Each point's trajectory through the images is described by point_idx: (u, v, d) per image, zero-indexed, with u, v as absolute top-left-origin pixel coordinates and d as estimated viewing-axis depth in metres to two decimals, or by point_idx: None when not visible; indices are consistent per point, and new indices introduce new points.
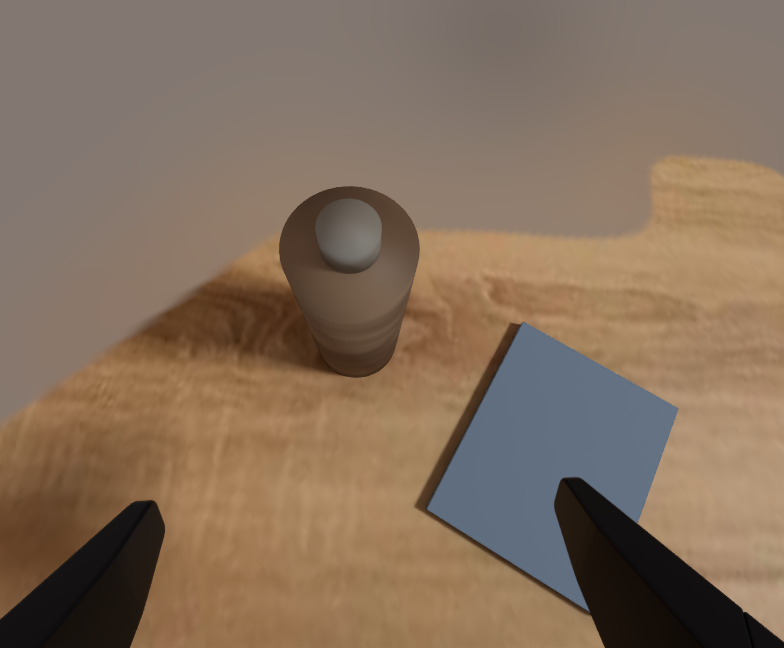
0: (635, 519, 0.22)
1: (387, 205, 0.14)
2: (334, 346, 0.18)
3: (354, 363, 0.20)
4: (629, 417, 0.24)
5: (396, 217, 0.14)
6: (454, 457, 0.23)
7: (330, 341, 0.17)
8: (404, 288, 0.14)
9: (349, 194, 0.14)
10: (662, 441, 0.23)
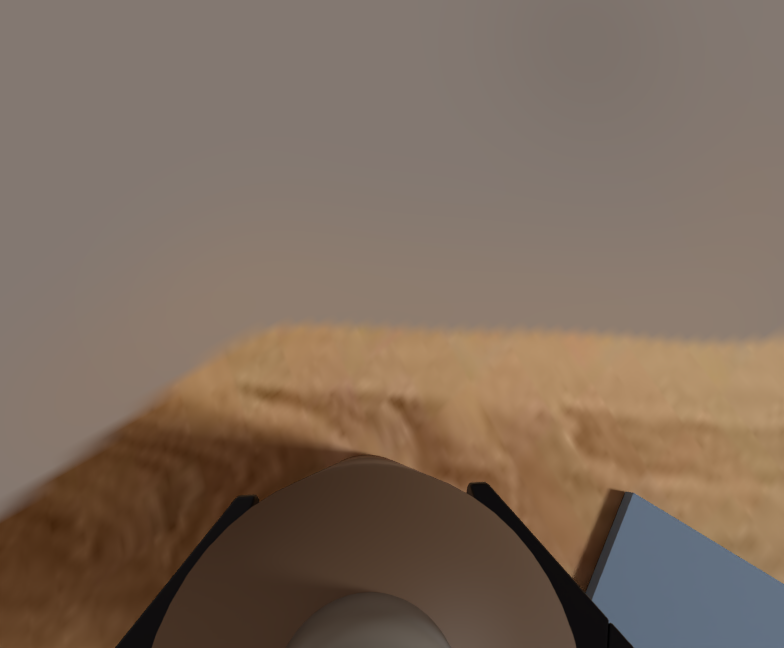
0: None
1: (478, 533, 0.05)
2: None
3: None
4: None
5: (507, 576, 0.05)
6: None
7: None
8: None
9: (366, 498, 0.05)
10: None
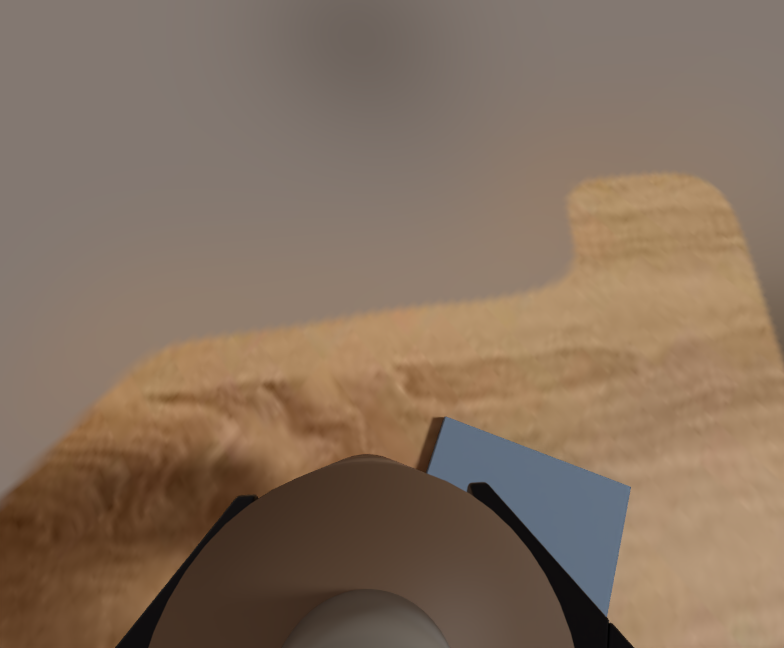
0: None
1: (475, 530, 0.05)
2: None
3: None
4: (578, 509, 0.21)
5: (505, 572, 0.05)
6: None
7: None
8: None
9: (364, 495, 0.05)
10: (618, 531, 0.21)
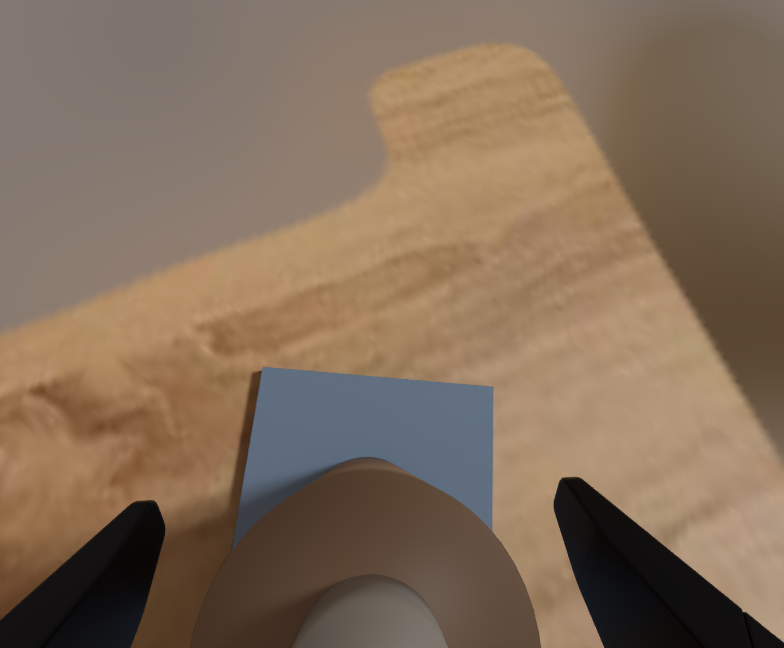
0: None
1: (458, 527, 0.06)
2: None
3: None
4: (438, 429, 0.18)
5: (482, 561, 0.06)
6: None
7: None
8: None
9: (368, 498, 0.06)
10: (487, 439, 0.18)
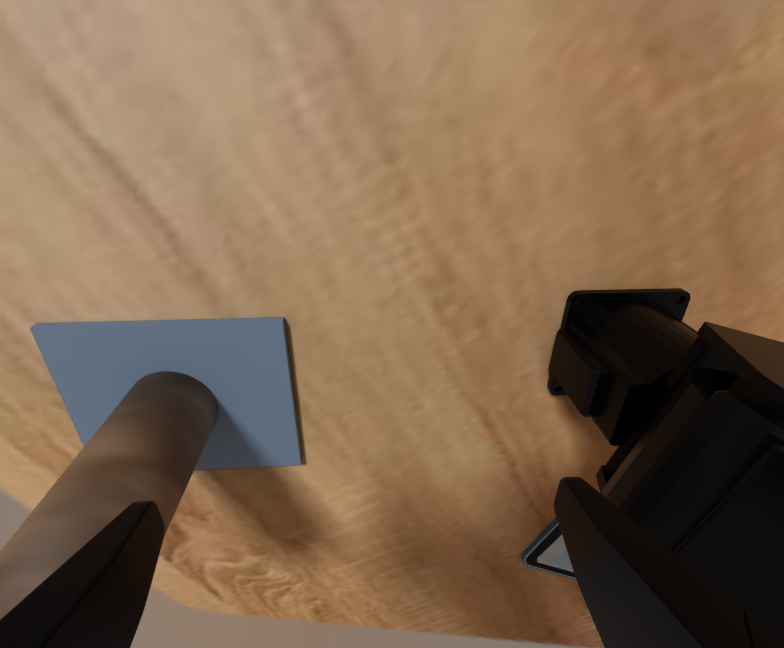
0: (177, 327, 0.21)
1: None
2: (171, 516, 0.17)
3: (193, 453, 0.20)
4: (88, 367, 0.21)
5: None
6: (251, 466, 0.26)
7: (165, 532, 0.17)
8: None
9: None
10: (80, 330, 0.20)
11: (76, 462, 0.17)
